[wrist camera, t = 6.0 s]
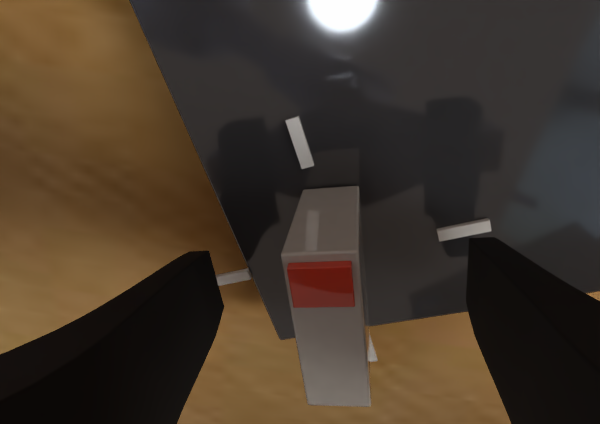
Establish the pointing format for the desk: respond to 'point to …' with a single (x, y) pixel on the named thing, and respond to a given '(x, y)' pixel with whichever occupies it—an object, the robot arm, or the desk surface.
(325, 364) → the red-tipped gray block
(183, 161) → the desk surface
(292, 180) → the stove
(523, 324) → the robot arm
